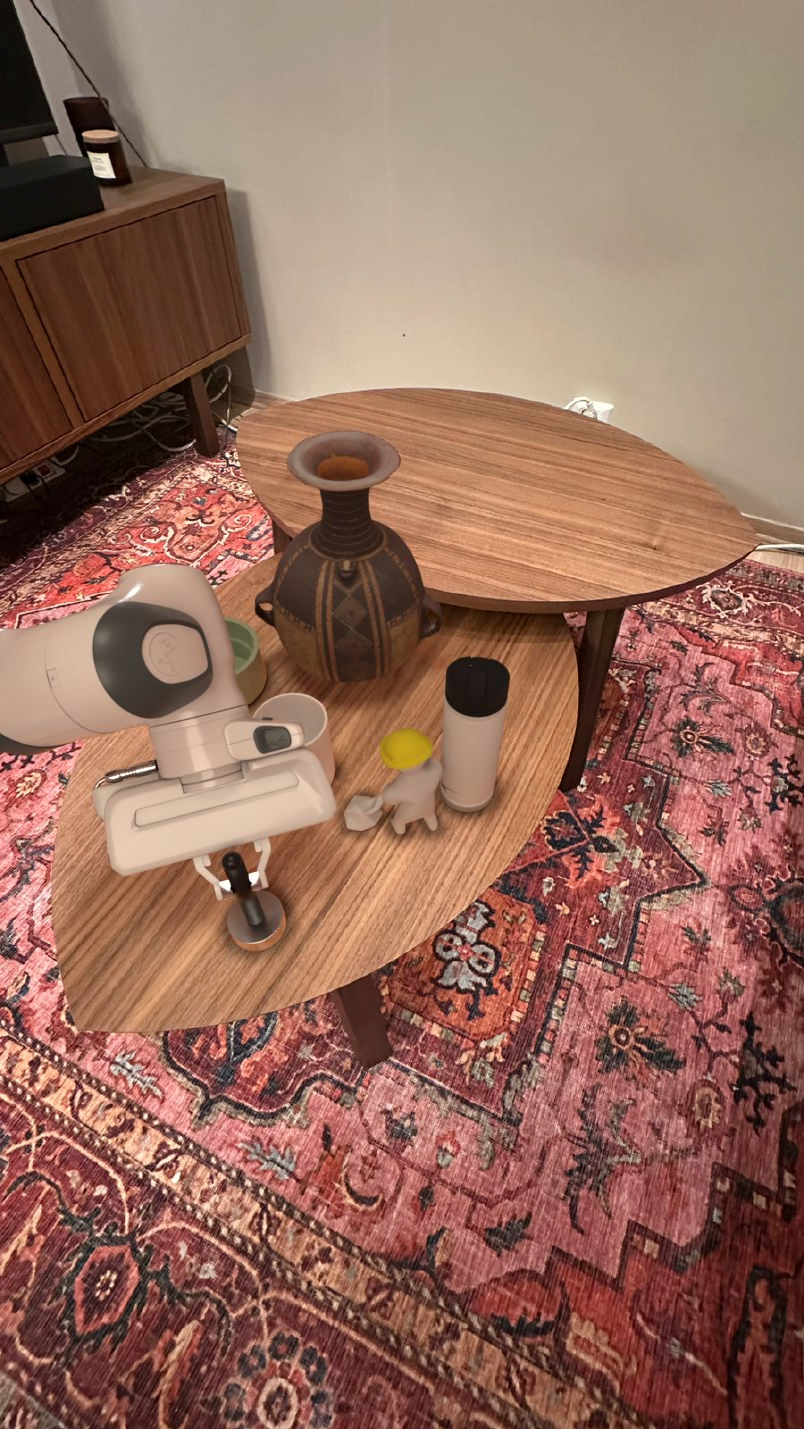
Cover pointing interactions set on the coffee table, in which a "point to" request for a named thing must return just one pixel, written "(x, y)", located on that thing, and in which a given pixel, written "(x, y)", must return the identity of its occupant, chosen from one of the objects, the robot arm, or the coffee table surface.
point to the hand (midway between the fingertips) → (244, 892)
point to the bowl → (247, 658)
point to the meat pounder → (251, 909)
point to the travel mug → (472, 731)
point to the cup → (304, 723)
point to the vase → (347, 569)
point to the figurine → (401, 784)
